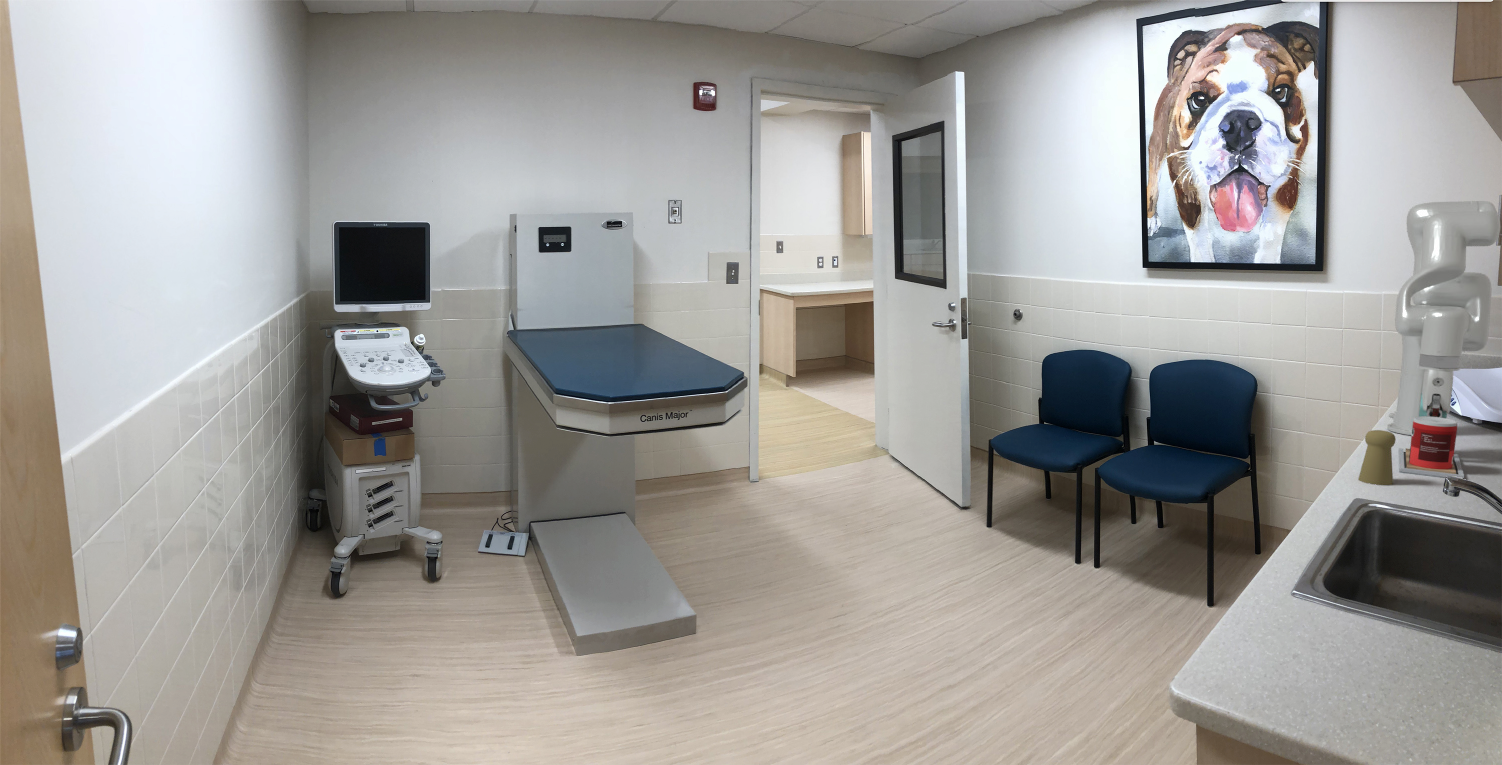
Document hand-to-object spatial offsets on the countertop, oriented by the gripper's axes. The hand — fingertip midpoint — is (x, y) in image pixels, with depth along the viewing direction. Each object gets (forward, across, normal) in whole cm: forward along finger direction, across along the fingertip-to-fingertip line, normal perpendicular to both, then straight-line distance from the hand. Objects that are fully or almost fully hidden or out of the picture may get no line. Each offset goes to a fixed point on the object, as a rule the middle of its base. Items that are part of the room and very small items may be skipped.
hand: (1430, 434), depth 201 cm
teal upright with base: (+5, -8, 0) cm, 10 cm away
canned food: (+5, -14, 0) cm, 15 cm away
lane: (+5, -10, 0) cm, 11 cm away
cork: (+6, -32, +10) cm, 34 cm away
